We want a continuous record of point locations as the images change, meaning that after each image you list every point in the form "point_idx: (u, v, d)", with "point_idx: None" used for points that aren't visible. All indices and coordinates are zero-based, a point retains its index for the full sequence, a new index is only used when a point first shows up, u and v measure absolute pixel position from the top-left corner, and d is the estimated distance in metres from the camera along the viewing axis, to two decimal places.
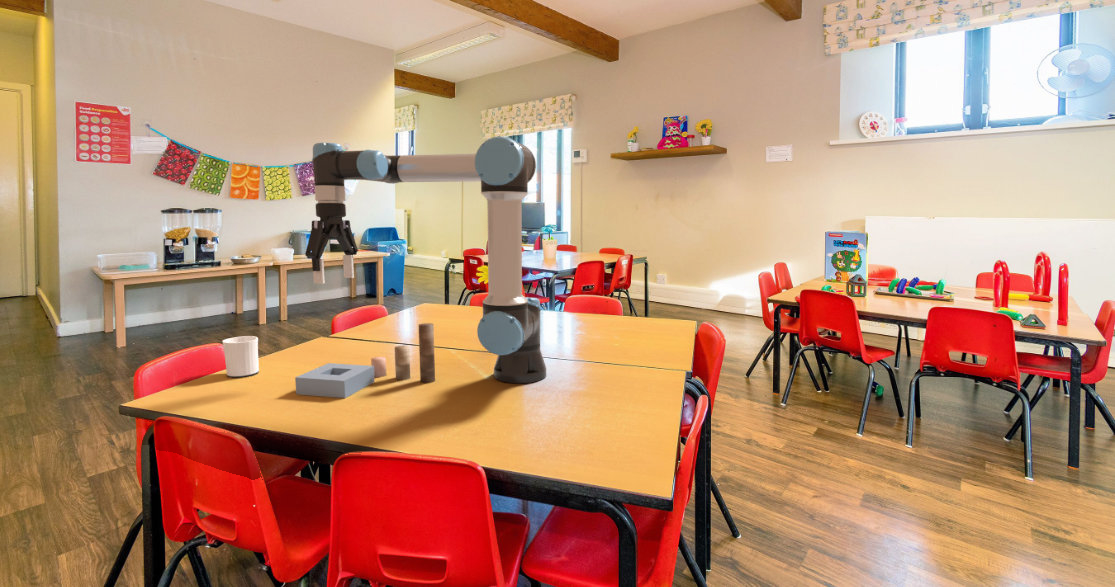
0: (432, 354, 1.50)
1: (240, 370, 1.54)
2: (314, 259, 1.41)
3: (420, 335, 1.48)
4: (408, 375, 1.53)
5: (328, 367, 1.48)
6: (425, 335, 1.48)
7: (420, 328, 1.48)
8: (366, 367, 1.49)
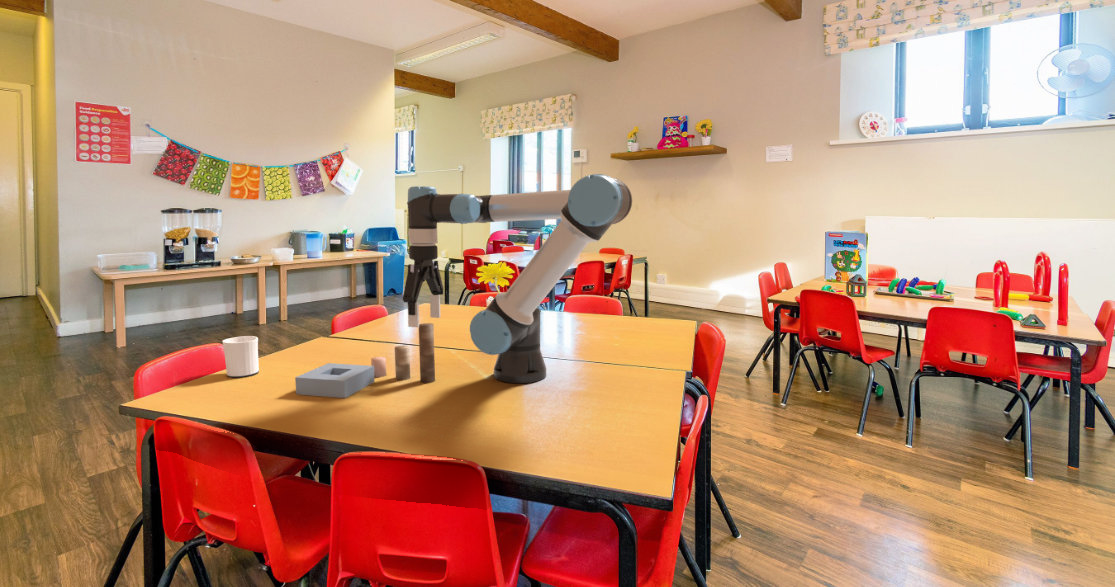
0: (432, 354, 1.50)
1: (240, 370, 1.54)
2: (410, 303, 1.40)
3: (420, 335, 1.48)
4: (408, 375, 1.53)
5: (328, 367, 1.48)
6: (425, 335, 1.48)
7: (420, 328, 1.48)
8: (366, 367, 1.49)
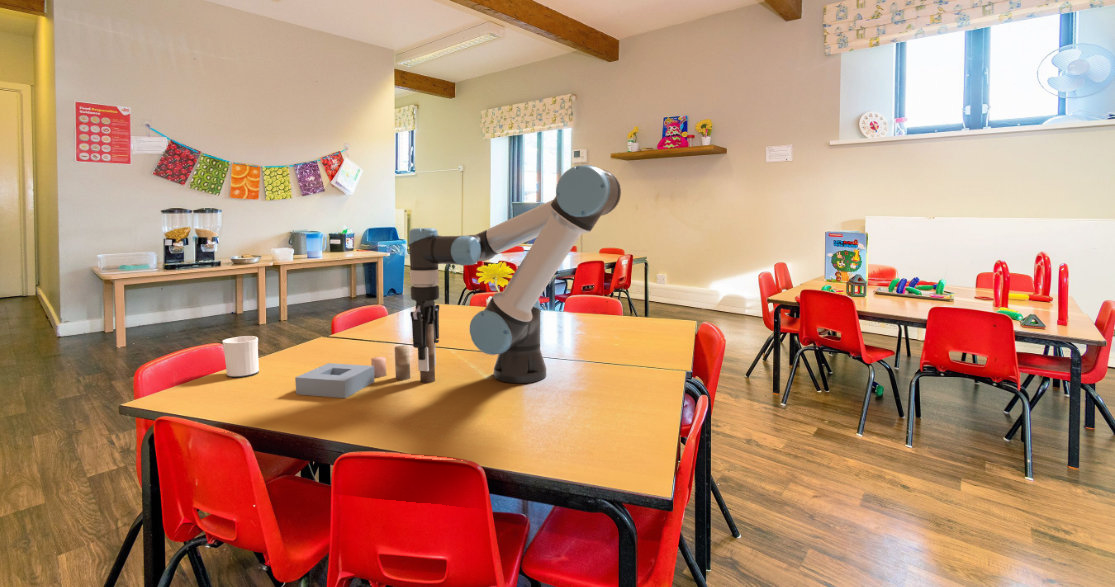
0: (432, 354, 1.50)
1: (240, 370, 1.54)
2: (420, 349, 1.46)
3: None
4: (408, 375, 1.53)
5: (328, 367, 1.48)
6: None
7: None
8: (366, 367, 1.49)
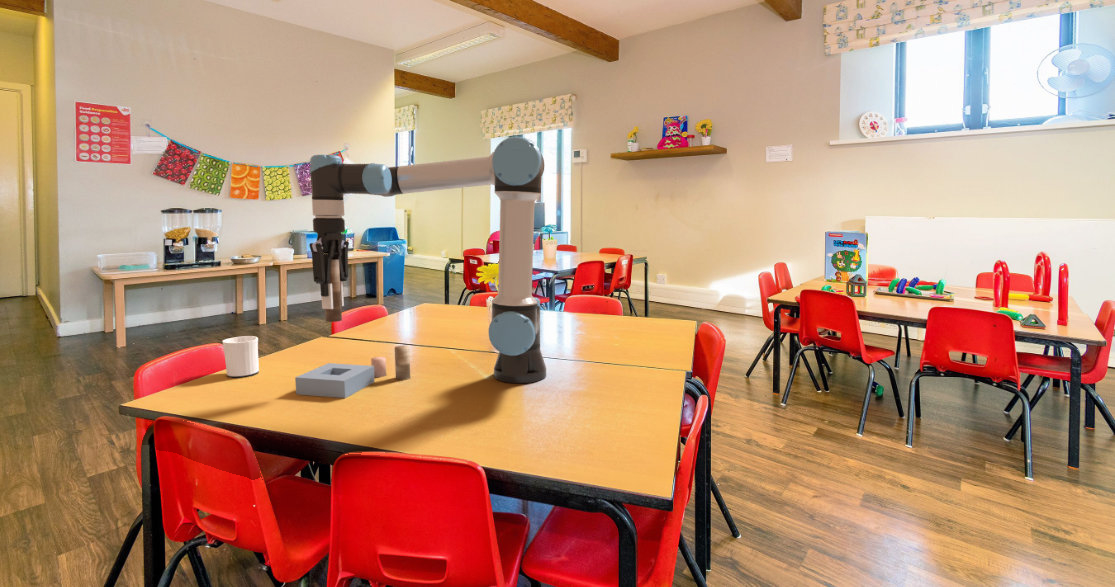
0: (337, 291, 1.41)
1: (240, 370, 1.54)
2: (323, 284, 1.38)
3: None
4: (408, 375, 1.53)
5: (328, 367, 1.48)
6: None
7: None
8: (366, 367, 1.49)
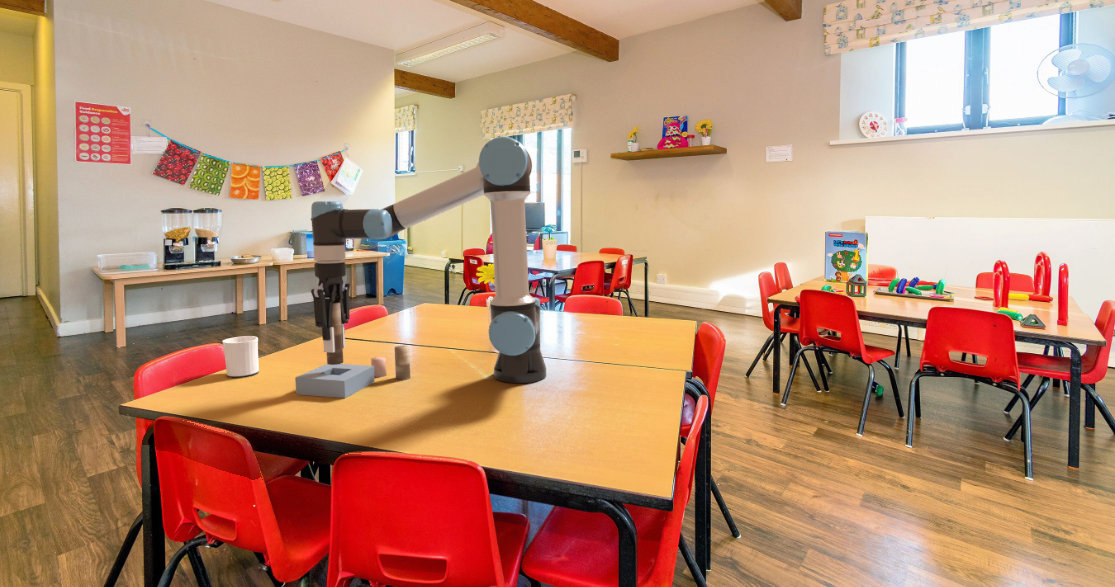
0: (339, 334, 1.42)
1: (240, 370, 1.54)
2: (324, 329, 1.39)
3: None
4: (408, 375, 1.53)
5: (328, 367, 1.48)
6: None
7: None
8: (366, 367, 1.49)
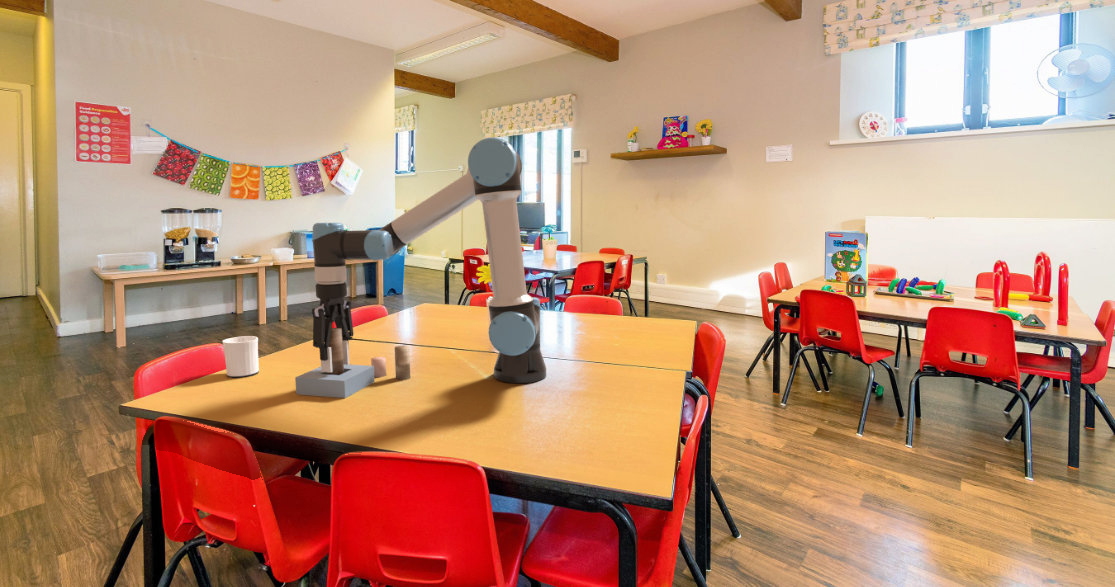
0: (340, 360, 1.43)
1: (240, 370, 1.54)
2: (322, 349, 1.38)
3: None
4: (408, 375, 1.53)
5: None
6: (331, 340, 1.41)
7: None
8: (366, 367, 1.49)
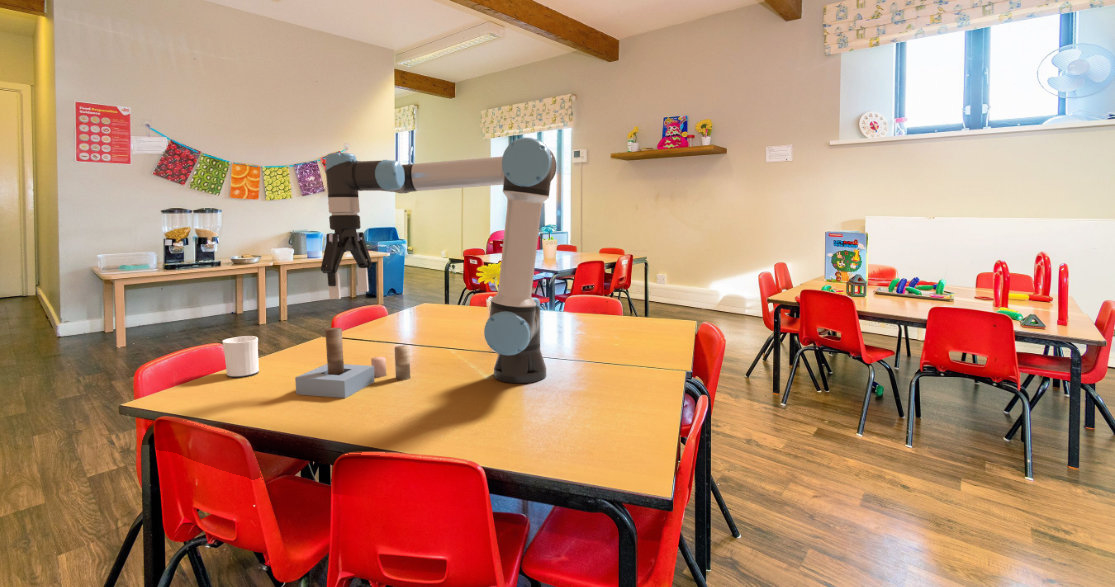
0: (340, 360, 1.43)
1: (240, 370, 1.54)
2: (330, 274, 1.35)
3: (327, 340, 1.42)
4: (408, 375, 1.53)
5: None
6: (331, 340, 1.41)
7: (326, 333, 1.42)
8: (366, 367, 1.49)
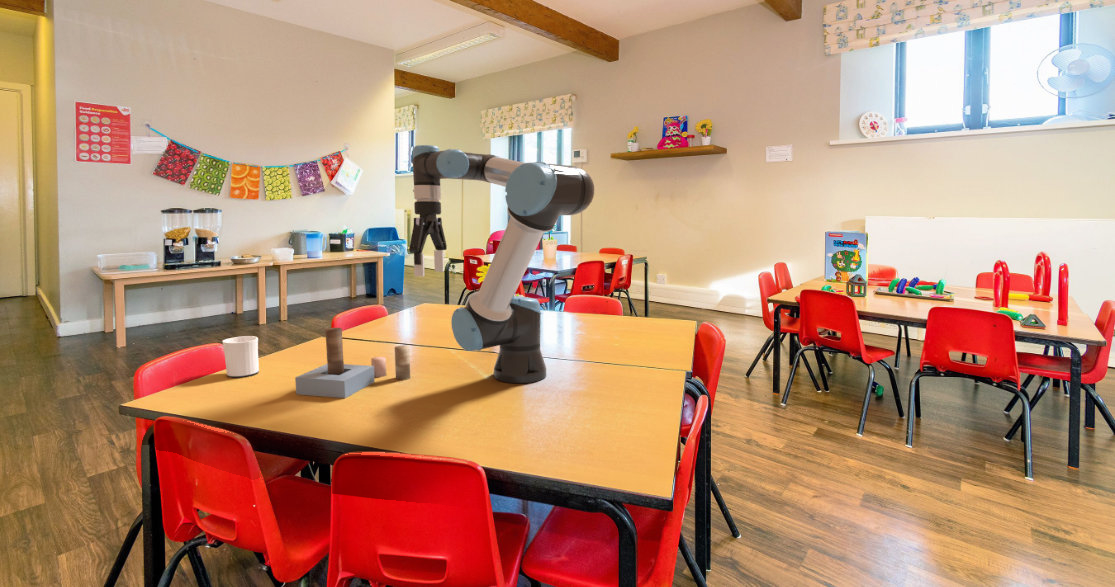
0: (340, 360, 1.43)
1: (240, 370, 1.54)
2: (416, 253, 1.51)
3: (327, 340, 1.42)
4: (408, 375, 1.53)
5: None
6: (332, 340, 1.41)
7: (326, 333, 1.42)
8: (366, 367, 1.49)
